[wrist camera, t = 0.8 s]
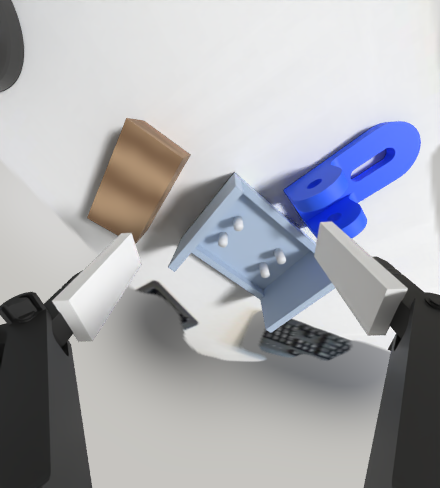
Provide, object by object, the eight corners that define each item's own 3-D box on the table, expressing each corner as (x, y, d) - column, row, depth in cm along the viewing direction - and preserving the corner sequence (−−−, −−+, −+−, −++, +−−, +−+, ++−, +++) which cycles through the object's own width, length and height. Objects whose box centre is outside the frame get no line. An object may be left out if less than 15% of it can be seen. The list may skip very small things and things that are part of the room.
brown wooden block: (147, 229, 39) (134, 244, 33) (107, 205, 37) (87, 218, 31) (190, 154, 32) (182, 158, 27) (144, 120, 30) (126, 117, 25)
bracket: (306, 226, 37) (327, 251, 29) (282, 189, 34) (298, 206, 26) (416, 158, 31) (480, 167, 23) (398, 107, 28) (464, 97, 20)
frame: (182, 237, 39) (167, 267, 30) (234, 172, 33) (235, 186, 24) (262, 293, 44) (270, 332, 36) (320, 246, 38) (346, 280, 30)
